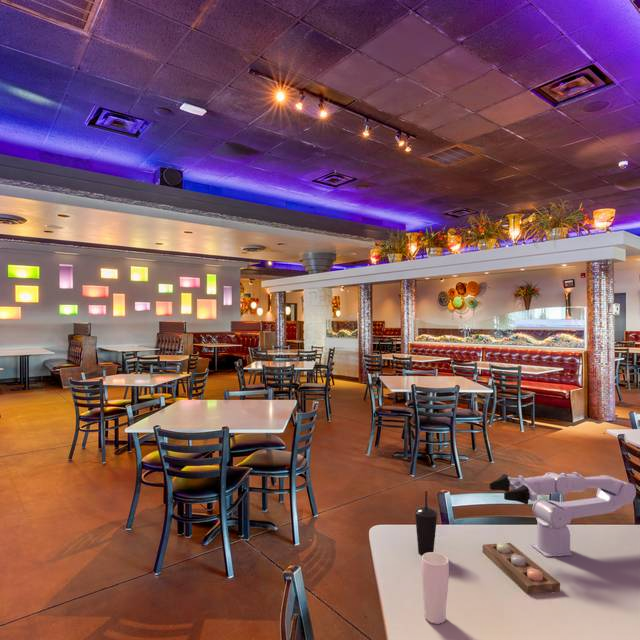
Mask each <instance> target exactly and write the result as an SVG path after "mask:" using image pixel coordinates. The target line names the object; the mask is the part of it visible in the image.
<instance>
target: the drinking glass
mask: <svg viewBox="0 0 640 640" xmlns="http://www.w3.org/2000/svg"><path fill="white" fill-rule="evenodd" d="M449 579H450V562H449V558H448V557H447V556H446V555H444V554H442V553H439V552H436V551H434V552H428V553H425V554H423V555H421V584H422V597H423V598H422V599H423V617H424V618H425V619H427V621H428V622H429V621H430V622H429V623H431V624H434V623H435V625H439V624H440V623H441V624H443V623H444V622H445V620H446V617H447V615H446V613H447V599H448V592H449V591H448V590H449V583H450V582H449V581H450V580H449Z"/></svg>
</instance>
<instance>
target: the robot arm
mask: <svg viewBox="0 0 640 640" xmlns="http://www.w3.org/2000/svg"><path fill="white" fill-rule="evenodd" d="M517 476H518V477H510V476H509V475H507V474H506V473H504V474H501V476H499V478H497V479H495V480H493V481H491V482H489V490H491V491H504V493H503V499H504V500H505V501H512V502H517V503H518V502H519V503H520V504H524V505H529V501H532V502H533V503H532V504H533V505H532V507H531V508H532V513H533V515H534V516H535V519H536V521H537V524H536V526H537V530H536V531H537V534H536V535H537V539H536V542H537V543H532V544H531V546H532V547H533V548H534V549H535V550H536V551H538V552H539V553H540V554H542V555H543V556H545V557H547V558H550V557H551V558H552V557H563V556H566V557H567V556H572V555H573V553H572V552H571V533H570V529H569V527H568V526H567V525H570V524H571V522H572V519H579V518H585V517H592V516H593V517H594V516H599V515H605V514H612V513H614V512H615V511H617V510H618V509H620V508H621V507H623V506H625V505H631V504H633V502H634V500H635V497H636V496H637V490H636V489H637V488H636V486H635V485H634V484H633V483H630V482H627V481H624V480H621V479H618V478H616V477H613V476H611V475H608V474H606V475H604V474H601V475H597V476H594V475H593V476H586V477H585V476H583V475H582V474H580V473H579V472H577V471H573V472H572V473H565V472H561V473H560V474H558V473H556V472H551V471H548V472H546V473H545V474H543V475H537V476H530V477H524V476H522V475H519V474H518V475H517ZM510 488H511V490H510ZM586 489H597V491H596V495H595V496H596V497H591V498H583V499H574V500H569V501H555V500H551V499H550V500H546V499H543V498H538V496H541V495H549V494H554V493H555V494H559V495H562V496H566V495H568V494H569V493H577V492H581V493H582V492H584V491H585V490H586Z"/></svg>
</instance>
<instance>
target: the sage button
mask: <svg viewBox="0 0 640 640" xmlns="http://www.w3.org/2000/svg"><path fill="white" fill-rule="evenodd" d="M506 543H507V542H498V543H496V544H497V551H498V552H499V553H500V554H506V553H510V546H509V545H508V544H506Z"/></svg>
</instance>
